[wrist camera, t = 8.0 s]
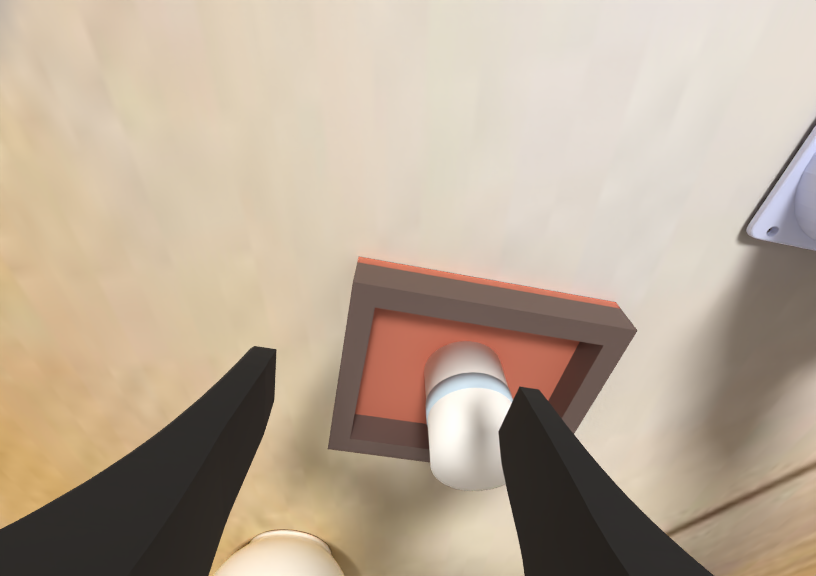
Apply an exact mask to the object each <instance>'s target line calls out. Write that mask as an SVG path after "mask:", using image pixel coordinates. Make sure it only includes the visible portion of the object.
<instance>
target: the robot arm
mask: <svg viewBox="0 0 816 576" xmlns="http://www.w3.org/2000/svg"><path fill="white" fill-rule="evenodd" d="M771 227H772V229H771V230H770V231H769V232H767V231H768V230H769V229H770V228H771ZM747 233H748V235H750V236H751V237H753V238H755V239H760V240H765V241H770V242H775V243H780V244H784V245H789V246H794V247H799V248H804V249H809V250H814V251H816V126H815V127H814V129H813V130H812V132H811V133H810V135H809V136H808V138H807V139H806V141H805V142H804V143H803V145H802V146H801V148H800V149H799V151H798V152H797V154H796V155H795V157H794V158H793V160H792V161H791V163H790V164H789V166H788V167H787V169H786V170H785V172H784V173H783V174H782V176H781V177H780V179H779V180H778V182H777V183H776V185H775V186H774V188H773V189H772V191H771V192H770V194H769V195H768V197H767V198H766V200H765V201H764V203H763V204H762V206H761V207H760V208H759V210H758V211H757V213H756V214H755V216H754V217H753V219H752V220H751V222H750V223H749V225H748V227H747ZM275 370H276V349H270V348H264V347H257V346H254V347H252V348H251V349H250V350H249V351H248V352H247V353H246V354H245V355H244V356H243V357H242V358H241V359H240V360H239V361H238V362H237V363H236V364H235V365H234V366H233V367H232V368H231V369H230V370H229V371H228V372H227V373H226V374H225V375H224V376H223V377H222V378H221V379H220V380H219V381H218V382H217V383H216V384H215V385H214V386H213V387H212V388H210V389H209V390H208V391H207V392H206V393H205V394H204V395H203V396H202V397H201V398H200V399H198V400H197V401H196V402H195V403H194V404H193V405H191V406H190V407H189V408H188V409H187V410H185V411H184V412H183V413H182V414H181V415H179V416H178V417H177V418H176V419H175V420H173V421H172V422H171V423H170V424H168V425H167V426H166V427H165V428H163V429H162V430H161V431H159V432H158V433H157V434H155V435H154V436H153V437H151V438H150V439H149V440H147V441H146V442H145V443H143V444H142V445H140V446H139V447H138V448H136V449H135V450H133V451H132V452H131V453H129V454H128V455H126V456H125V457H123V458H122V459H120V460H119V461H117V462H116V463H114V464H113V465H111V466H110V467H108V468H107V469H105V470H104V471H102V472H100V473H99V474H97V475H96V476H94V477H92V478H91V479H89V480H88V481H86V482H84V483H83V484H81V485H79V486H78V487H76V488H74V489H72V490H71V491H69V492H67V493H65V494H64V495H62V496H60V497H59V498H57V499H55V500H53V501H52V502H50V503H48V504H46V505H45V506H43V507H41V508H40V509H38V510H36V511H34V512H32V513H31V514H29V515H27V516H25V517H23V518H21V519H20V520H18V521H16V522H14V523H12V524H10V525H8V526H6V527H4V528H2V529H0V576H208V575H209V572H210V569H211V566H212V563H213V560H214V557H215V554H216V551H217V548H218V545H219V542H220V539H221V536H222V533H223V530H224V527H225V524H226V522H227V519H228V517H229V514H230V511H231V509H232V507H233V504H234V502H235V500H236V497H237V495H238V493H239V490H240V488H241V486H242V484H243V481H244V479H245V477H246V474H247V472H248V470H249V467H250V465H251V463H252V461H253V458H254V456H255V454H256V451H257V449H258V447H259V444H260V442H261V440H262V437H263V435H264V432H265V429H266V426H267V422H268V419H269V416H270V413H271V409H272V406H273V403H274V394H275ZM498 433H499V445H500V455H501V463H502V469H503V474H504V478H505V483H506V487H507V491H508V496H509V500H510V504H511V509H512V513H513V517H514V522H515V526H516V530H517V535H518V539H519V544H520V549H521V554H522V559H523V566H524V574H525V576H714V575H713V574H711V573H710V572H709V571H708V570H706V569H705V568H704V567H703V566H702V565H701V564H699V563H698V562H697V561H696V560H695V559H693V558H692V557H691V556H690V555H689V554H688V553H686V552H685V551H684V550H683V549H682V548H681V547H680V546H679V545H678V544H676V543H675V542H674V541H673V540H672V539H671V538H670V537H669V536H667V535H666V534H665V533H664V532H663V531H662V530H661V529H660V528H659V527H658V526H657V525H656V524H655V523H653V522H652V521H651V520H650V519H649V518H648V517H647V516H646V515H645V514H644V513H643V512H642V511H641V510H640V509H639V508H638V507H637V506H636V505H635V504H634V503H633V502H632V501H631V500H630V499H629V498H628V497H627V496H626V494H625V493H624V492H623V491H622V490H621V489H620V488H619V487H618V486H617V485H616V484H615V483H614V481H613V480H612V479H611V478H610V477H609V476H608V475H607V474H606V472H605V471H604V470H603V469H602V468H601V467H600V466H599V464H598V463H597V462H596V461H595V460H594V458H593V457H592V456H591V455H590V454H589V452H588V451H587V450H586V449H585V448H584V446H583V445H582V444H581V443H580V441H579V440H578V439H577V438H576V436H575V435H574V434H573V433H572V431H571V430H570V429H569V427H568V426H567V425H566V424H565V422H564V421H563V420H562V418H561V417H560V416H559V414H558V413H557V412H556V411H555V409H554V408H553V407H552V405H551V404H550V403H549V401H548V400H547V399H546V398H545V396H544V395H543V394H542V393H541V391H540V390H539V389H533V388H526V387H520V386H519V389H518V391H517V393H516V395H515V397H514V399H513V401H512V403H511V406H510V408H509V410H508V412H507V414H506V416H505V418H504V421H503V423H502V425H501V427H500V429H499V431H498Z"/></svg>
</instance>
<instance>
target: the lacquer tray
mask: <svg viewBox="0 0 816 576" xmlns="http://www.w3.org/2000/svg"><path fill="white" fill-rule="evenodd" d="M636 332H637V329H636V328H635V327H634V325H633V324H632V323H631V322H630V320H629V319H628V318H627V316H626V315H625V314H624V312H623V311H622V310H621V308H620V307H619V306H618V305H617V303H616V302H611V301H606V300H600V299H594V298H589V297H583V296H577V295H572V294H566V293H561V292H555V291H549V290H544V289H538V288H532V287H527V286H521V285H515V284H510V283H504V282H499V281H493V280H487V279H482V278H476V277H470V276H465V275H459V274H454V273H448V272H442V271H437V270H431V269H425V268H420V267H414V266H408V265H403V264H397V263H392V262H386V261H380V260H375V259H369V258H363V257H359V258H358V262H357V267H356V271H355V276H354V280H353V285H352V292H351V299H350V305H349V312H348V319H347V325H346V332H345V339H344V345H343V352H342V358H341V365H340V372H339V378H338V385H337V392H336V398H335V405H334V411H333V418H332V425H331V431H330V438H329V445H328V449H332V450H339V451H347V452H355V453H362V454H370V455H378V456H385V457H393V458H401V459H408V460H416V461H424V462H430V450H429V435H428V426H427V420H426V391H425V377H424V368H425V365H426V362H427V360H428V359H429V357H430V356H431V355H432V354H433V353H434V352H435V351H436V350H438V349H439V348H441V347H443V346H445V345H448V344H450V343H454V342H460V341H472V342H478V343H481V344H484V345H486V346H488V347H490V348H491V349H492V350H493V351H495V352H496V354H497V355H498V357H499V359H500V361H501V365H502V368H503V371H504V375H505V378H506V382H507V385H508V388H509V390H510V392H511V395H512V398H513V399H514V397H515V395H516V393H517V391H518V389H519V386H520V387H526V388H533V389H539V390H540V391H541V393H542V394H543V395H544V396H545V398H546V399H547V400H548V401H549V403H550V404H551V405H552V407H553V408H554V409H555V411H556V412H557V413H558V414H559V416H560V417H561V418H562V420H563V421H564V422H565V424H566V425H567V426H568V427H569V429H570V430H571V431H572V433H573V434H574V433H575V431H576V430H577V428H578V426H579V425H580V423H581V422H582V420H583V418H584V417H585V415H586V413H587V412H588V410H589V409H590V407H591V405H592V404H593V402H594V400H595V399H596V397H597V396H598V394H599V392H600V391H601V389H602V387H603V386H604V384H605V382H606V381H607V379H608V378H609V376H610V374H611V373H612V371H613V369H614V368H615V366H616V365H617V363H618V361H619V360H620V358H621V356H622V355H623V353H624V352H625V350H626V348H627V347H628V345H629V343H630V342H631V340H632V339H633V337H634V335H635V334H636Z"/></svg>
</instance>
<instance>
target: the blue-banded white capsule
mask: <svg viewBox="0 0 816 576" xmlns="http://www.w3.org/2000/svg"><path fill="white" fill-rule="evenodd" d="M424 377H425V391H426V420H427V426H428V435H429V450H430V464H431V470H432V472H433V474H434V476H435V477H436V478H437V479H438V480H439V481H440V482H442V483H443V484H445V485H447V486H449V487H452V488H455V489H459V490H465V491H483V490H489V489H494V488H497V487H500V486H503V485H505V484H506V483H505V478H504V474H503V469H502V463H501V455H500V445H499V433H498V431H499V429H500V427H501V425H502V423H503V421H504V418H505V416H506V414H507V412H508V410H509V408H510V406H511V403H512V401H513V398H512V395H511V392H510V390H509V388H508V385H507V382H506V378H505V375H504V371H503V368H502V365H501V361H500V359H499V357H498V355H497V354H496V352H495V351H493V350H492V349H491V348H490V347H488V346H486V345H484V344H481V343H478V342H472V341H460V342H454V343H450V344H448V345H445V346H443V347H441V348H439V349H438V350H436V351H435V352H434V353H433V354H432V355H431V356H430V357H429V359H428V360H427V362H426V365H425V368H424Z"/></svg>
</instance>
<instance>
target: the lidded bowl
mask: <svg viewBox="0 0 816 576" xmlns="http://www.w3.org/2000/svg"><path fill="white" fill-rule="evenodd" d="M213 576H344V574H343V572H342V570H341V568H340V566H339V565H338V563H337V562H336V560H335V559H334V558H333V557H332V556H331V550H330V548H329V547H328V545H327V544H326V543H325V542H323V541H322V540H321V539H319V538H317V537H315V536H313V535H310V534H308V533H304V532H300V531H294V530H273V531H268V532H264V533H261V534H259V535H257V536H256V537H254V538H253V539H252V540H251V541H250V543H249V544H248V545H246V546H244V547H243V548H241V549H240V550H238V551H237V552H236V553H234V554H233V555H231V556H230V557H229V558H228V559H227V560H226V561H225V562H224V563H223V564H222V565H221V566H220V567H219V568H218V569H217V571H216V572H215V573H214V575H213Z"/></svg>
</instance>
